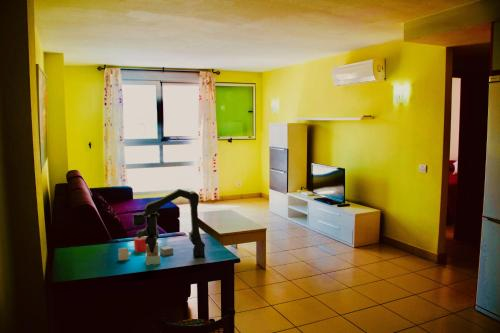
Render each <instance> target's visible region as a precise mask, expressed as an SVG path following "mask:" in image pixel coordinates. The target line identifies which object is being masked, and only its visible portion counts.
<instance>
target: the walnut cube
mask: <svg viewBox="0 0 500 333" xmlns="http://www.w3.org/2000/svg"><path fill="white" fill-rule="evenodd" d="M146 247H147V250H146V253H147V256H158V252H159V242H156V245H155V248H154V251H153V253H151V251H150V248H149V245H148V244H147V246H146Z"/></svg>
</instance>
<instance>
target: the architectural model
mask: <svg viewBox="0 0 500 333" xmlns="http://www.w3.org/2000/svg"><path fill="white" fill-rule="evenodd" d="M131 254H132V252H131V251H129V248H128V247H123V248H118V261H127V260H129V258H130V255H131Z"/></svg>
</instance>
